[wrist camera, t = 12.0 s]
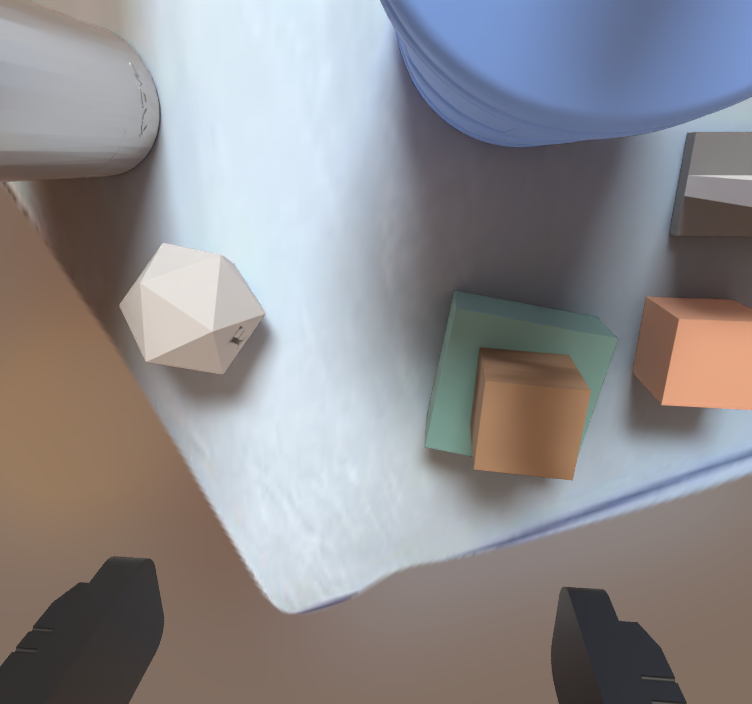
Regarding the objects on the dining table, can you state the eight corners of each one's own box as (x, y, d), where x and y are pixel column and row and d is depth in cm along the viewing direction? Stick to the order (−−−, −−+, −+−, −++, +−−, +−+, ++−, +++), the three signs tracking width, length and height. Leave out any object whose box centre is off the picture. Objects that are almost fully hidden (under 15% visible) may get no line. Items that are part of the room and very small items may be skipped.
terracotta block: (631, 371, 38) (661, 405, 33) (645, 296, 37) (679, 319, 31) (713, 375, 38) (756, 410, 33) (732, 299, 36) (780, 322, 31)
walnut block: (470, 424, 36) (473, 469, 31) (479, 347, 34) (485, 381, 29) (554, 433, 35) (572, 480, 30) (569, 354, 34) (591, 391, 28)
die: (195, 362, 43) (231, 415, 35) (89, 307, 38) (105, 354, 30) (254, 277, 43) (303, 311, 35) (157, 210, 38) (190, 233, 30)
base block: (426, 414, 42) (424, 447, 37) (454, 289, 38) (456, 308, 33) (556, 439, 41) (570, 476, 36) (596, 315, 38) (618, 338, 33)
